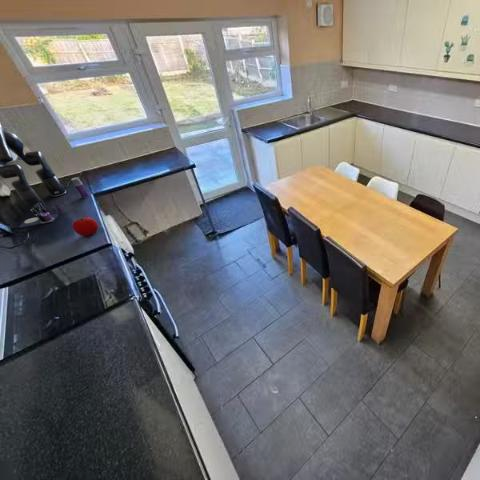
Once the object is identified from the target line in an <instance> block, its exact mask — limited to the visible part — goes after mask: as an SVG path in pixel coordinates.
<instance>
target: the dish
mask: <svg viewBox="0 0 480 480" xmlns="http://www.w3.org/2000/svg"><path fill="white" fill-rule="evenodd" d="M41 214H42V216H43V217H44V218H45V219H46V221H49V220H51V219H52V216H51V215H52V214H51V213H50V212H49V211H47V212H42V213H41ZM39 215H40V214H39ZM38 218H39V217H38ZM39 220H40V219H39ZM40 221H41V220H40ZM46 221H43V222H46ZM41 222H42V221H41Z"/></svg>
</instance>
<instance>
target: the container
mask: <svg viewBox="0 0 480 480" xmlns="http://www.w3.org/2000/svg"><path fill="white" fill-rule="evenodd" d="M70 181H72V182H71V183H72V184H73V186H74V187H75V189H76V191H77V192H78V194H79V195H80V197H81V198H82V199H87V198H89V197H90V194H89V192H88V190H87V189H86V188H85V185H84V184H83V182H82V181H81V179H80V177H79V178H78V176H77V177H72V178H71V180H70Z"/></svg>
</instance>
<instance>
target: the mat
mask: <svg viewBox="0 0 480 480" xmlns="http://www.w3.org/2000/svg"><path fill="white" fill-rule="evenodd" d="M50 215H51V216H52V219H51V220H49V221H46V222H41V221H40V220H39V218H38V217H36V218H35V217H31V218H25V219H24V220H23V221H22V223H21V224H20V225H19V226H18V227H17V229H22V228H27V227H28V228H29V227H33V226H37V225H43V224H50V223H54V222H55V221H56V219H57V218H58V217H59V215H60V213H53V214H50Z"/></svg>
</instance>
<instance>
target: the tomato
mask: <svg viewBox="0 0 480 480" xmlns="http://www.w3.org/2000/svg"><path fill="white" fill-rule="evenodd" d="M72 229H73V231H74V232H75V233H76V234H77V235H79V236H82V237H90V236H92V235H94V234H95V233H97V232H98V229H99V224H98V221H97V220H95V219H93V218H92V217H89V216H86V217H84V216H82V217H80V218H79V219H75V220H74V221H73V222H72Z"/></svg>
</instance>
